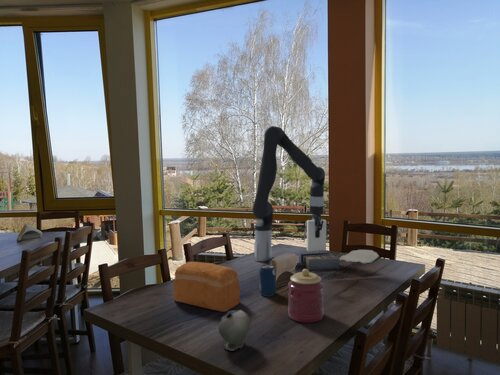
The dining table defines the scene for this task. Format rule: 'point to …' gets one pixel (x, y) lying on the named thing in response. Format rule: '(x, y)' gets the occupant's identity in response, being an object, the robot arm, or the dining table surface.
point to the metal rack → (320, 261)
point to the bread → (207, 286)
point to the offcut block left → (311, 259)
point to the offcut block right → (327, 257)
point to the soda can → (267, 280)
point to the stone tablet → (360, 256)
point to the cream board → (312, 241)
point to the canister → (305, 297)
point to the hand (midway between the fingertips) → (316, 236)
